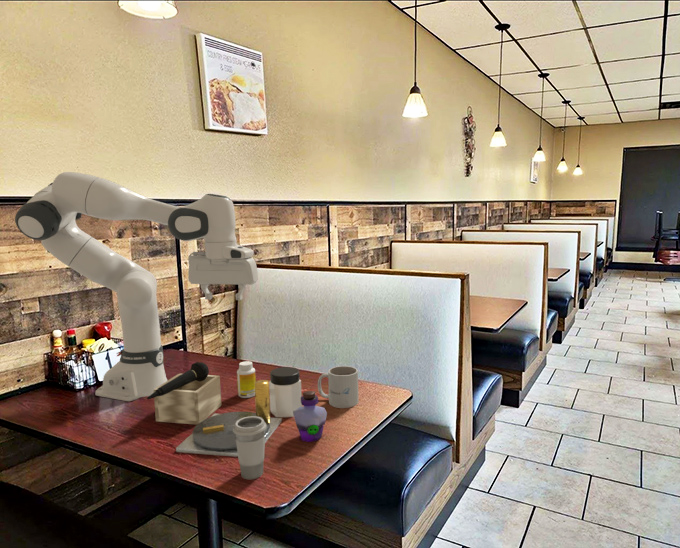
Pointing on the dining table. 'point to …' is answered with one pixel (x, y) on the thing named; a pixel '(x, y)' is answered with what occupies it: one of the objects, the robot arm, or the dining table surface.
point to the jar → (285, 391)
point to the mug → (341, 386)
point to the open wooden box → (189, 401)
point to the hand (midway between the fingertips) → (224, 299)
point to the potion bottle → (310, 417)
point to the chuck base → (192, 447)
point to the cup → (250, 445)
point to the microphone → (183, 379)
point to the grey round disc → (232, 422)
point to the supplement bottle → (246, 380)
